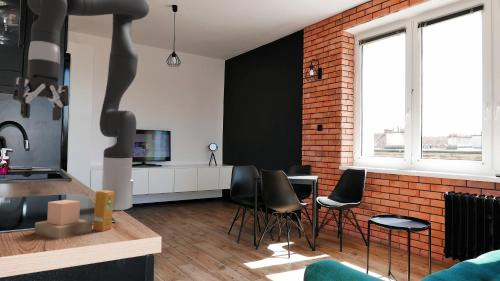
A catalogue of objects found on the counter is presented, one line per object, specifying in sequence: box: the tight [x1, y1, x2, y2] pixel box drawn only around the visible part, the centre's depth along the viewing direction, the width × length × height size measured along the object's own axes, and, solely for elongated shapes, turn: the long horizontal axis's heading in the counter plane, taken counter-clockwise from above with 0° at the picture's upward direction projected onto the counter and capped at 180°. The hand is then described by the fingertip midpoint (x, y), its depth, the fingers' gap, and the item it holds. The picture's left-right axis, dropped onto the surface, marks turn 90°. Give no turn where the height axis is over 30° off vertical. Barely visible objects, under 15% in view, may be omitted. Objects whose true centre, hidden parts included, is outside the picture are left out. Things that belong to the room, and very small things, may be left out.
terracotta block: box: [46, 199, 81, 225], centre depth 87 cm, size 5×5×5 cm
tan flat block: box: [34, 218, 93, 240], centre depth 87 cm, size 9×9×3 cm
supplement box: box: [92, 190, 114, 232], centre depth 91 cm, size 3×3×10 cm
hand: (41, 119), depth 97 cm, fingers open, 8 cm apart
